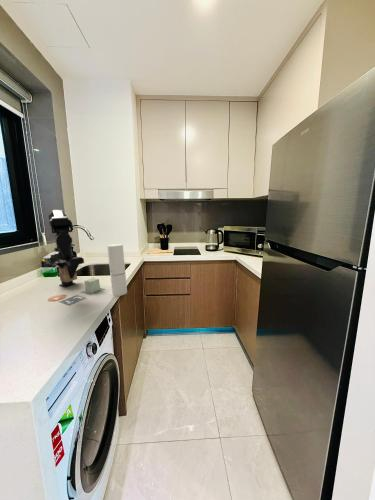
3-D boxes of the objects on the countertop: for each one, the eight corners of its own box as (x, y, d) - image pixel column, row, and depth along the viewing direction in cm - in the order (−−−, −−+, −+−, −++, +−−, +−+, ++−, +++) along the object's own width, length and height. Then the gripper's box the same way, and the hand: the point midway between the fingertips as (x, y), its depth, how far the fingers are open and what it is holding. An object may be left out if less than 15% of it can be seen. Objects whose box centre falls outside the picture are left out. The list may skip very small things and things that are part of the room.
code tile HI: (80, 292, 106) (79, 292, 106) (95, 287, 114) (95, 286, 114) (90, 295, 102) (90, 295, 102) (105, 289, 109) (105, 289, 109)
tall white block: (122, 289, 108) (117, 243, 104) (130, 292, 104) (125, 244, 99) (109, 294, 103) (104, 245, 98) (117, 297, 98) (112, 246, 94)
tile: (58, 302, 95) (58, 301, 95) (76, 295, 103) (76, 295, 103) (69, 306, 91) (69, 305, 91) (87, 298, 98) (87, 298, 98)
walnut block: (60, 280, 94) (58, 268, 93) (71, 277, 99) (69, 265, 98) (66, 282, 92) (64, 269, 91) (77, 279, 96) (75, 266, 95)
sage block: (85, 291, 107) (84, 280, 106) (94, 288, 111) (92, 278, 110) (91, 293, 104) (90, 282, 103) (100, 289, 109) (98, 279, 108)
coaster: (44, 300, 99) (44, 299, 99) (61, 294, 105) (61, 293, 105) (53, 303, 95) (53, 302, 95) (70, 296, 101) (70, 296, 101)
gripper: (33, 246, 90) (39, 280, 93) (56, 249, 81) (62, 286, 84) (59, 243, 100) (64, 273, 102) (82, 244, 90) (86, 278, 93)
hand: (68, 277), depth 95 cm, fingers closed on walnut block, 5 cm apart
